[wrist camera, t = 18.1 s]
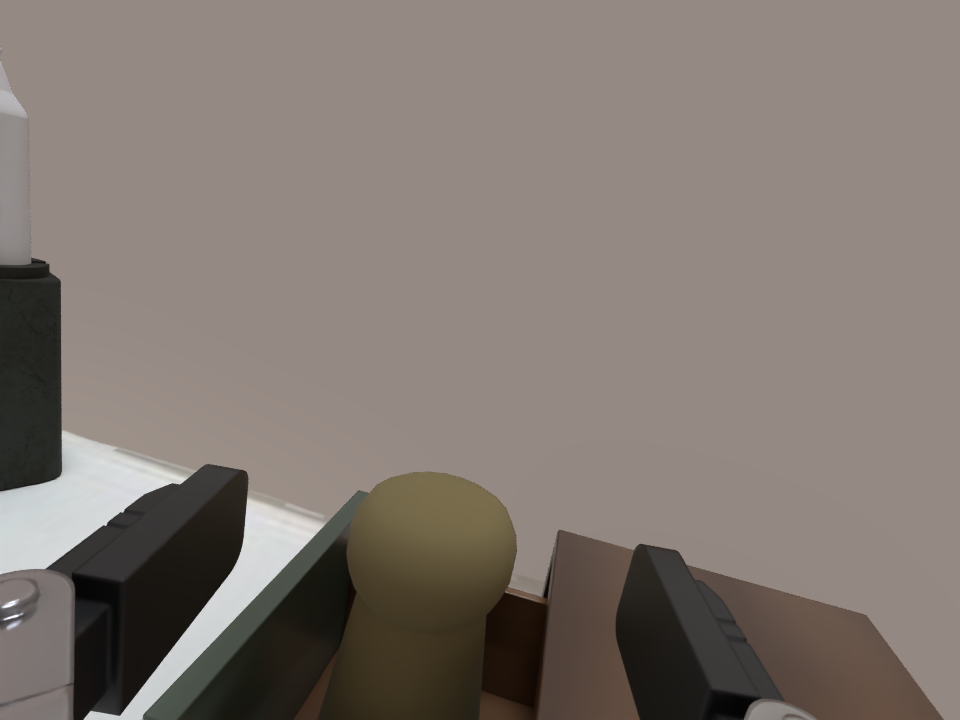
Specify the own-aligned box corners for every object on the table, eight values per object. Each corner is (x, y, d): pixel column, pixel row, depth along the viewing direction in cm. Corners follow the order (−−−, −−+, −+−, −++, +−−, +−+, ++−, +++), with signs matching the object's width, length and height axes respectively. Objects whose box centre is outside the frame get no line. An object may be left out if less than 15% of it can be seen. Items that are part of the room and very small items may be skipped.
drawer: (94, 912, 14) (97, 698, 13) (316, 616, 26) (333, 482, 24) (569, 1128, 12) (651, 909, 11) (580, 702, 24) (620, 563, 22)
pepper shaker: (507, 772, 20) (575, 507, 17) (385, 927, 15) (453, 589, 12) (393, 671, 23) (435, 436, 20) (263, 770, 18) (296, 478, 15)
